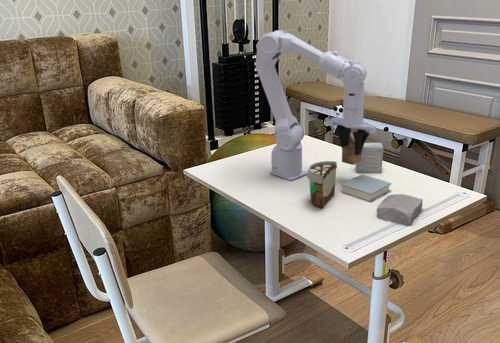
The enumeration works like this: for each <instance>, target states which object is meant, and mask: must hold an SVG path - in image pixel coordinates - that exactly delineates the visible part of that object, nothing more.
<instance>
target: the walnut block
mask: <svg viewBox="0 0 500 343" xmlns="http://www.w3.org/2000/svg"><path fill="white" fill-rule="evenodd" d="M358 162H361V154H359V155H355V144H350V143H349V145H347V146H345V147H341V163H344V164H347V165H352V166H354V165H355V164H356V163H358Z"/></svg>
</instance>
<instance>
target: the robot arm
mask: <svg viewBox="0 0 500 343" xmlns="http://www.w3.org/2000/svg"><path fill="white" fill-rule="evenodd" d="M255 47H256V57H255V69H256V72H257V74H258V77H259V80H260V82H261V85H262V88H263V90H264V93H265V96H266V99H267V101H268V104H269V107H270V109H271V113H272V114H273V118H274V120H275V122H274V123H275V124H274V133H275V144H276V145H275V146H274V147H273V148H272V151H271V154H270V155H271V156H270V157H271V170H270V171H269V173H270V174H271V175H274V176H278V177H280V178H283V179H285V180H288V181H294V180H296V179H299V178H301V177H304V176H305V175H306V176H307V172H308V171H306V170H303V145H302V142H301V141H302V140H303V139H304V138H305V130H304V128H303V126H302V125H300V122H299V121H298V119H297V117H295V116H294V115H293V114H292V111H291V108H290V105H289V103H288V100H287V97H286V94H285V92H284V88H283V86H282V83H281V81H280V77H279V75H278V72H277V68H276V64H277V62H278V60H279V58H280V56H281V55H282V54H288V53H294V54H297V55H299V56H302V57H303V58H305V59H307V60H309V61H312V62H314V63H315V64H316V63H317V65H318V68H319V70H320V71H323V72H324V73H326V74H328V75H330V76H332V77H334V78H336V79H338V80H341V82H342V84H343V99H342V100H343V101H342V102H343V104H342V118H341V117H332V118H330V125H331V126H337V127H336V128H335V130H334V131H335V133H336V135H337V137H338V140H339V142H340V143H339V144H340V146H341V148H342V147H345V146H347V145H350V137H351V132H352V130H355V132H353V133H352V135H353V140H354V145H355V155H359V154H361V152H362V148H363V145H364V143H366V141H367V139H368V137H369V136H370V135H373V134H376V133H377V125H374V124H371V123H368V122H366V121H364V110H365V109H364V106H365V82H364V81H365V80H366V78H367V73H368V72H367V68H366V67H365V66H364V65H363V64H362V63H360V62H354V60H352V59H347V58H344V57H343V56H341V55H339V52H338V51H336V50H334V51H331V50H328V51H326V52H323V51H321V50H319V49H318V48H316V47H314V46H312V45H311V44H309V43H307V42H306V41H303V40H302V39H300V38H298V37H297V36H295V35H293V33H289V32H286V31H284V30H282V29H277V30H274V31H272V32H268V33H264V34H262V36H260V38H259V40H258V42H257V43H256V45H255Z"/></svg>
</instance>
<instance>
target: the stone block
mask: <svg viewBox="0 0 500 343" xmlns="http://www.w3.org/2000/svg"><path fill="white" fill-rule="evenodd" d="M423 202H424V201H423V198H418V197H415V196H412V195H410V194H404V193H398V194H396V193H394V194H390V195H389V194H388V195H387V196H386V197H385V198H384V199H382V201H381V202H380V203H379V204H378V206H377V208H376V215H377V217H378V219H379V220H381V221H385V222H388V221H390V223H397V224H399V225H405V224H406V226H410V225H412V223H413V222H414V221H415V219H416V217H417V216H418V215H419V213H420V212H421V210H423V209H422V208H423Z"/></svg>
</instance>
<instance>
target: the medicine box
mask: <svg viewBox="0 0 500 343" xmlns="http://www.w3.org/2000/svg"><path fill="white" fill-rule="evenodd" d="M383 158H384V146H383V144H382V142H365V143H364V145H363V148H362V152H361V162H358V163H356V164H354V165H355V171H356V173H358V174H359V173H360V174H361V173H362V174H363V173H379V174H380V173H382V172H383Z"/></svg>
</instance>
